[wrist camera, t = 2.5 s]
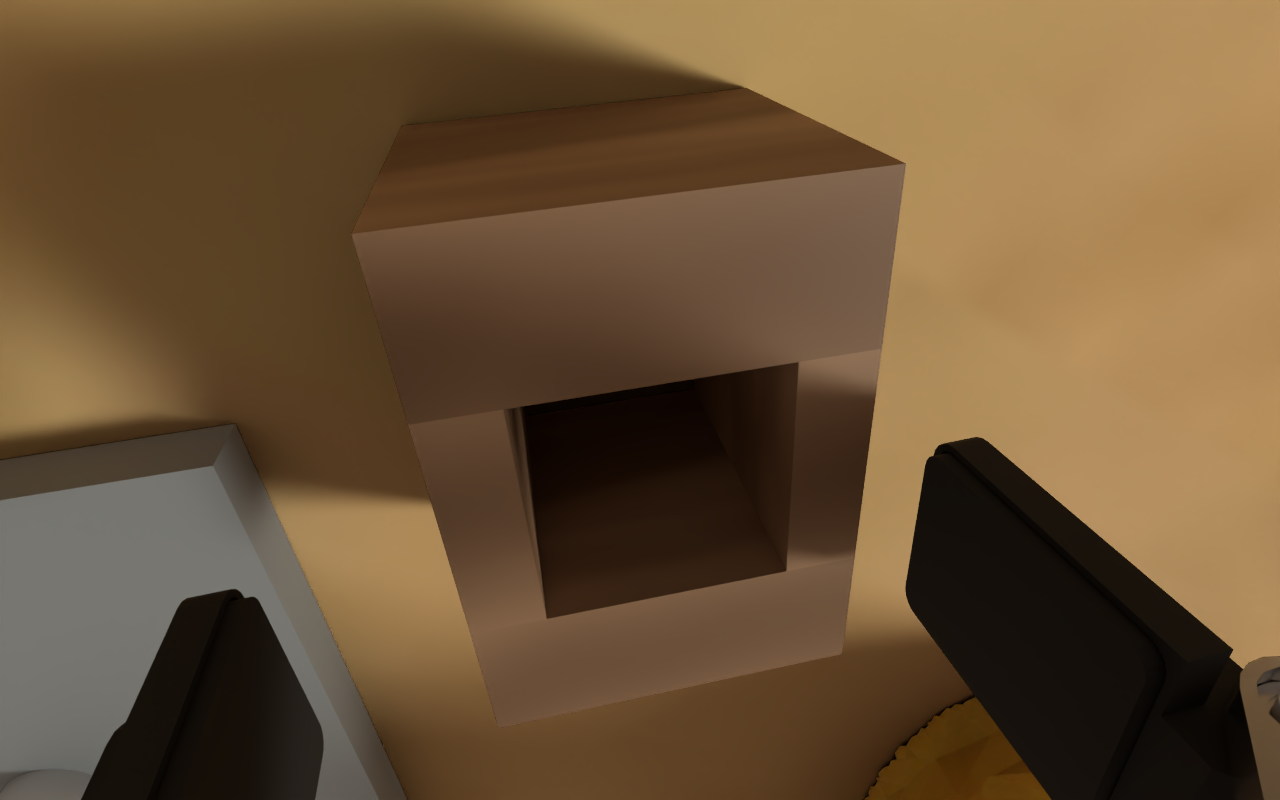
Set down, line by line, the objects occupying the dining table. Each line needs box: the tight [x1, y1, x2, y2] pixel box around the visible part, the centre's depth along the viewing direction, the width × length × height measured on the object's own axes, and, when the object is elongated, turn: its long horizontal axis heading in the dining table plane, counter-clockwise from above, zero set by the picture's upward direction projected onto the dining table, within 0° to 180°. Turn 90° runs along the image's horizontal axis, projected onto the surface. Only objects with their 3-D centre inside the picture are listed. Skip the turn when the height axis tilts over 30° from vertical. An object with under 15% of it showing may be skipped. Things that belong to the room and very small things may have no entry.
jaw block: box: [351, 88, 906, 728], centre depth 13 cm, size 9×6×6 cm
